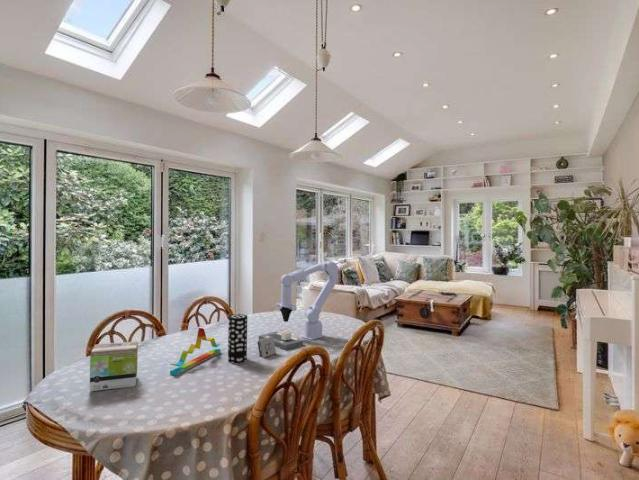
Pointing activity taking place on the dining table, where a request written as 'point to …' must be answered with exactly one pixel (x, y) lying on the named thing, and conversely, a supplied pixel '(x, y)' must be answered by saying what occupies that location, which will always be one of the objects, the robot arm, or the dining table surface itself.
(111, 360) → the tea box
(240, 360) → the white-spotted black cylinder
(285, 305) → the robot arm
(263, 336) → the panel
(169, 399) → the dining table surface
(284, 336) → the block
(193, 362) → the chart
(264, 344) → the electrical switch
